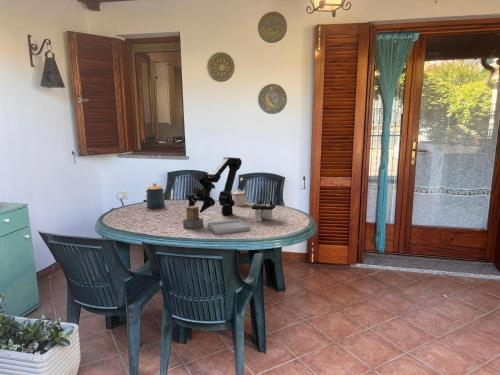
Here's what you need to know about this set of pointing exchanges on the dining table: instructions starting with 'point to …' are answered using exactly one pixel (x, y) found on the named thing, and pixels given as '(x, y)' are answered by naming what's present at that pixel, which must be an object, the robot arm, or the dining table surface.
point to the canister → (155, 196)
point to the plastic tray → (228, 226)
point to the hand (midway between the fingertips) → (194, 211)
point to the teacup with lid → (239, 198)
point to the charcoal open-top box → (193, 223)
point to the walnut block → (192, 213)
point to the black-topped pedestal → (263, 210)
